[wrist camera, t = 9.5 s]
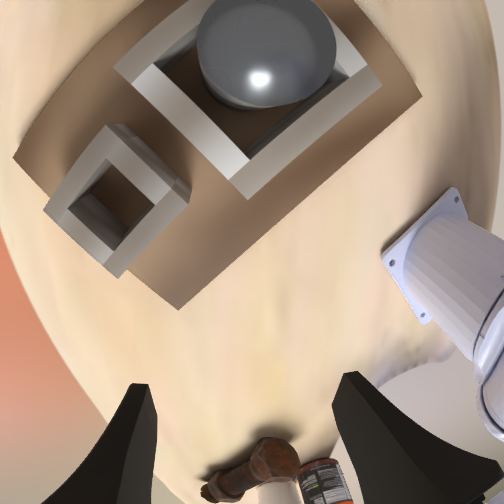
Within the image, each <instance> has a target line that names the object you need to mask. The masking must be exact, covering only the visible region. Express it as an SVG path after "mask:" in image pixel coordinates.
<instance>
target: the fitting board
mask: <svg viewBox="0 0 504 504" xmlns="http://www.w3.org/2000/svg"><path fill="white" fill-rule="evenodd" d="M215 1H216V0H145V1H144V2H143V3H142V4H140V5H139V6H138V7H137V8H136V9H135V10H133V11H132V12H131V13H130V14H129V15H128V16H127V17H125V18H124V19H123V20H122V21H121V22H120V23H119V24H118V25H117V26H116V27H115V28H113V29H112V30H111V31H110V32H109V33H108V34H107V35H106V36H105V37H104V38H103V39H102V40H101V41H100V42H99V43H98V44H97V45H96V46H95V47H94V49H93V50H92V51H91V52H90V53H89V54H88V55H87V56H86V57H85V58H84V59H83V60H82V62H81V63H80V64H79V65H78V66H77V67H76V68H75V70H74V71H73V72H72V73H71V74H70V76H69V77H68V78H67V79H66V80H65V82H64V83H63V84H62V85H61V87H60V88H59V89H58V90H57V92H56V93H55V94H54V96H53V97H52V98H51V100H50V101H49V102H48V104H47V105H46V106H45V108H44V109H43V111H42V112H41V114H40V115H39V116H38V118H37V119H36V121H35V122H34V124H33V125H32V127H31V128H30V130H29V132H28V133H27V135H26V136H25V138H24V139H23V141H22V143H21V144H20V146H19V148H18V149H17V151H16V153H15V155H14V156H13V159H14V160H15V161H16V162H17V163H18V164H19V166H20V167H21V168H22V169H23V170H24V171H25V172H26V173H27V174H28V175H29V176H30V177H31V179H32V180H33V181H34V182H35V183H36V184H37V185H38V186H39V187H40V188H41V189H42V190H43V191H44V192H45V193H46V194H47V195H48V196H49V197H50V200H49V201H48V203H47V204H46V206H45V208H44V209H43V211H44V212H45V213H46V214H47V215H48V216H49V217H50V218H51V219H52V220H53V221H54V222H55V223H56V224H57V225H58V226H60V227H61V228H62V229H63V230H64V231H65V232H66V233H67V234H68V235H69V236H70V237H71V238H72V239H73V240H74V241H75V242H76V243H78V244H79V245H80V246H81V247H82V248H83V249H84V250H85V251H86V252H87V253H89V254H90V255H91V256H92V257H93V258H94V259H95V260H96V261H98V262H99V263H100V264H101V265H102V266H103V267H104V268H106V269H107V270H108V271H109V272H110V273H111V274H113V275H114V276H115V277H116V278H117V279H118V278H119V277H120V276H121V275H122V274H123V273H124V272H125V271H126V269H128V270H129V271H130V272H131V273H132V274H134V275H135V276H136V277H137V278H138V279H139V280H141V281H142V282H143V283H144V284H146V285H147V286H148V287H149V288H150V289H152V290H153V291H154V292H155V293H157V294H158V295H159V296H160V297H162V298H163V299H164V300H165V301H167V302H168V303H169V304H171V305H172V306H173V307H174V308H176V309H177V310H179V309H181V308H182V307H183V306H184V305H185V304H186V303H187V302H188V301H190V300H191V299H192V298H193V297H194V296H195V295H196V294H197V293H199V292H200V291H201V290H202V289H203V288H204V287H205V286H206V285H208V284H209V283H210V282H211V281H212V280H213V279H214V278H215V277H217V276H218V275H219V274H220V273H221V272H222V271H223V270H225V269H226V268H227V267H228V266H229V265H230V264H231V263H232V262H234V261H235V260H236V259H237V258H238V257H239V256H240V255H242V254H243V253H244V252H245V251H246V250H247V249H248V248H249V247H251V246H252V245H253V244H254V243H255V242H256V241H257V240H259V239H260V238H261V237H262V236H263V235H264V234H265V233H266V232H268V231H269V230H270V229H271V228H272V227H273V226H274V225H276V224H277V223H278V222H279V221H280V220H281V219H282V218H284V217H285V216H286V215H287V214H288V213H289V212H290V211H291V210H293V209H294V208H295V207H296V206H297V205H298V204H299V203H301V202H302V201H303V200H304V199H305V198H306V197H307V196H309V195H310V194H311V193H312V192H313V191H314V190H315V189H317V188H318V187H319V186H320V185H321V184H322V183H323V182H325V181H326V180H327V179H328V178H329V177H330V176H331V175H333V174H334V173H335V172H336V171H337V170H338V169H339V168H341V167H342V166H343V165H344V164H345V163H346V162H347V161H349V160H350V159H351V158H352V157H353V156H354V155H355V154H357V153H358V152H359V151H360V150H361V149H362V148H364V147H365V146H366V145H367V144H368V143H369V142H370V141H372V140H373V139H374V138H375V137H376V136H377V135H378V134H380V133H381V132H382V131H383V130H384V129H385V128H387V127H388V126H389V125H390V124H391V123H392V122H393V121H395V120H396V119H397V118H398V117H399V116H400V115H402V114H403V113H404V112H405V111H406V110H407V109H408V108H410V107H411V106H412V105H413V104H414V103H415V102H417V101H418V100H419V99H420V98H421V97H422V95H421V93H420V91H419V89H418V88H417V86H416V85H415V83H414V81H413V80H412V78H411V77H410V75H409V73H408V72H407V70H406V69H405V67H404V66H403V64H402V63H401V61H400V60H399V58H398V57H397V55H396V54H395V53H394V51H393V50H392V48H391V47H390V46H389V44H388V43H387V41H386V40H385V39H384V37H383V36H382V35H381V34H380V32H379V31H378V30H377V28H376V27H375V26H374V25H373V23H372V22H371V21H370V20H369V18H368V17H367V16H366V15H365V14H364V12H363V11H362V10H361V9H360V8H359V7H358V5H357V4H356V3H355V2H354V1H353V0H311V1H312V2H314V3H315V4H316V5H317V6H318V7H319V8H320V9H321V10H322V11H323V13H324V14H325V15H326V17H327V18H328V20H329V22H330V24H331V26H332V28H333V31H334V34H335V38H336V46H337V52H336V60H335V64H334V67H333V70H332V72H331V74H330V76H329V77H328V79H327V80H326V81H325V83H324V84H323V85H322V86H321V87H320V88H319V89H318V90H317V91H315V92H314V93H313V94H311V95H310V96H308V97H306V98H305V99H302V100H300V101H297V102H294V103H291V104H286V105H280V106H275V107H269V108H264V109H259V110H254V111H239V110H234V109H231V108H228V107H226V106H224V105H222V104H220V103H219V102H218V101H216V100H215V99H214V98H213V97H212V96H211V95H210V93H209V92H208V91H207V89H206V87H205V85H204V82H203V79H202V74H201V68H200V63H199V57H198V51H197V32H198V28H199V24H200V22H201V19H202V17H203V15H204V14H205V12H206V11H207V9H208V8H209V7H210V6H211V5H212V3H214V2H215Z"/></svg>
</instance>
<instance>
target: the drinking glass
mask: <svg viewBox="0 0 504 504" xmlns="http://www.w3.org/2000/svg"><path fill="white" fill-rule="evenodd" d="M257 494H258V502H259V504H302V503H301V500H300V497H299V494H298V490H297V487H296V484H295V482H294V481H289V482H287V483H286V482H270V483H266V484H264V485H261V486H260V487H258V489H257Z"/></svg>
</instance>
